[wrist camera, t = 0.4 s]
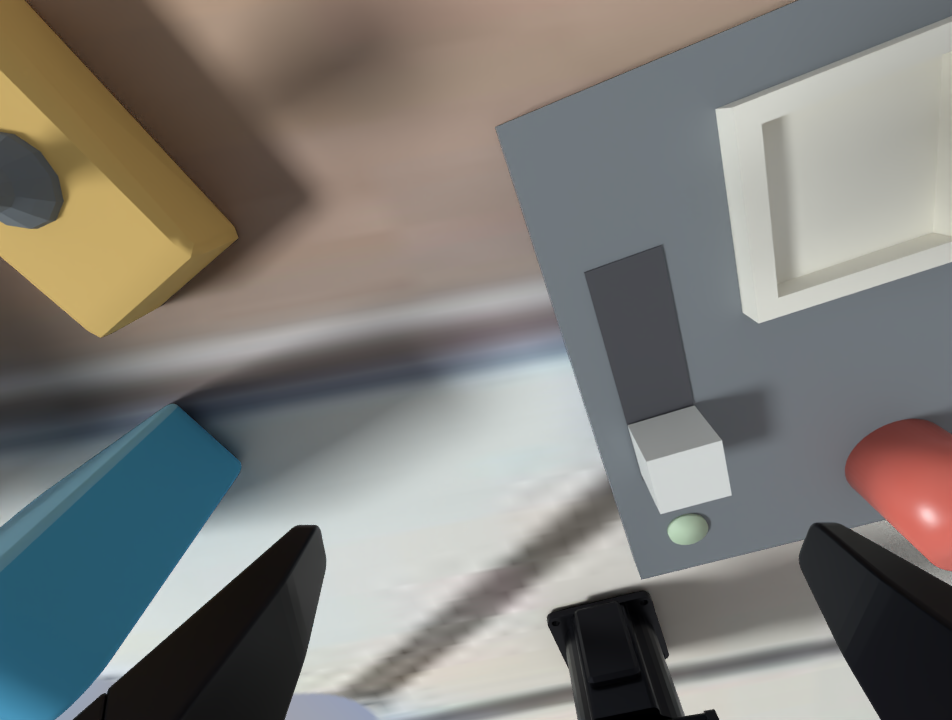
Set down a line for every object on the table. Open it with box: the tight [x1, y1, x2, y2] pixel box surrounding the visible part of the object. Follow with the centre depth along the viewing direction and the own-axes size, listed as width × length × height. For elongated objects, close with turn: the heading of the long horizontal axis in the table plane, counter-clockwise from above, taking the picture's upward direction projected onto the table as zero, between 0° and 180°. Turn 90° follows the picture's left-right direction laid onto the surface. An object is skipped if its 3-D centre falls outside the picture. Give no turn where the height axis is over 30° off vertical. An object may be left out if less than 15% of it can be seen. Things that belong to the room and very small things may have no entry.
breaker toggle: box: [628, 406, 732, 514], centre depth 20 cm, size 3×3×3 cm
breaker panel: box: [495, 0, 952, 580], centre depth 20 cm, size 24×17×3 cm
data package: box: [0, 404, 241, 720], centre depth 19 cm, size 12×4×12 cm, turn 124°
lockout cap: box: [845, 419, 952, 571], centre depth 20 cm, size 4×4×4 cm
